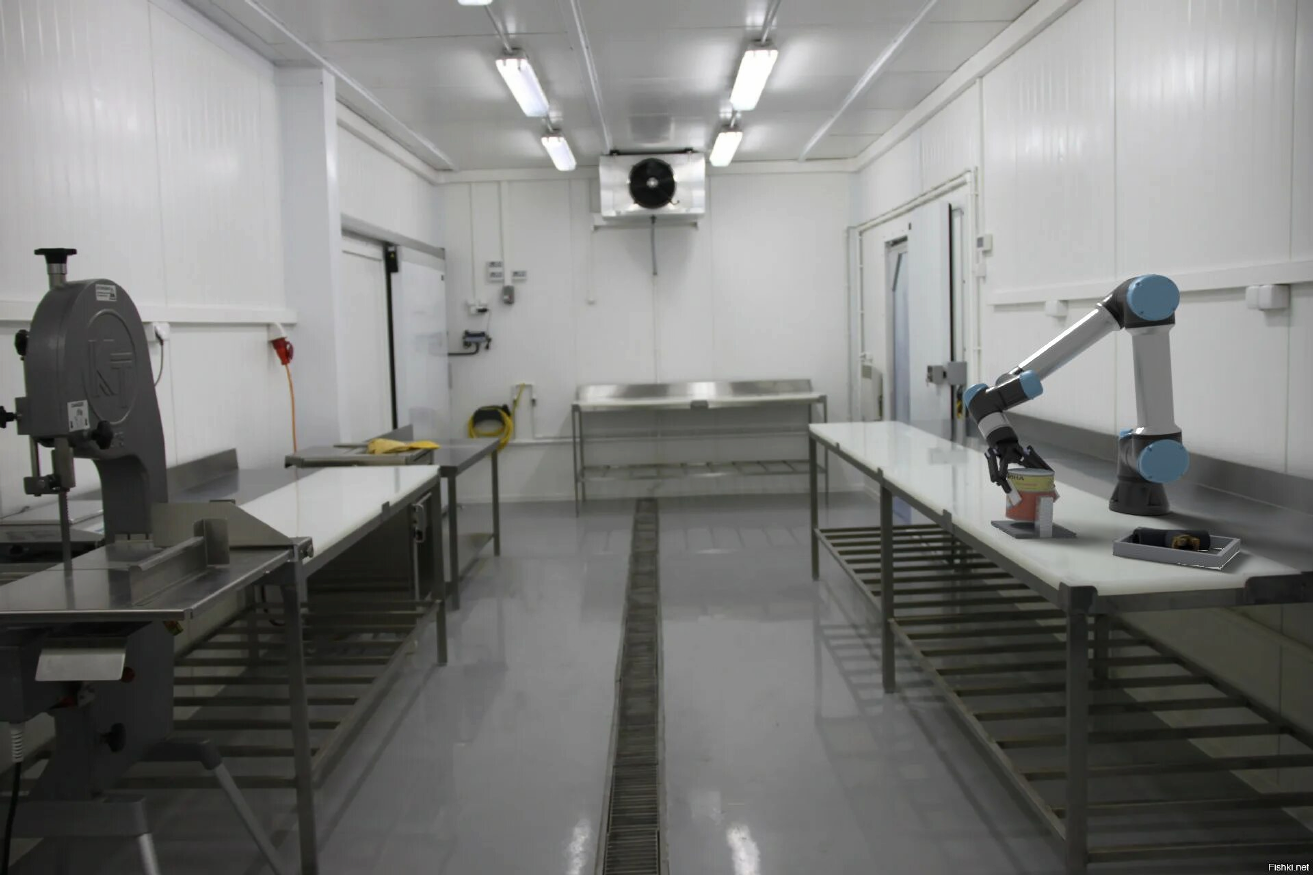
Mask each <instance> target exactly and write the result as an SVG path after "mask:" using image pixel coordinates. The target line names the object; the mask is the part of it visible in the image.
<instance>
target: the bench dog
mask: <svg viewBox="0 0 1313 875" xmlns="http://www.w3.org/2000/svg"><path fill="white" fill-rule="evenodd" d="M1053 515H1054V503H1053V497H1051V496H1048V495H1036V509H1035V532H1037V533H1039V534H1040V539H1044V538H1045V539H1048V538H1049V539H1050V538H1052V522H1054V520H1053Z"/></svg>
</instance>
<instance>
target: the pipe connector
mask: <svg viewBox="0 0 1313 875" xmlns="http://www.w3.org/2000/svg"><path fill="white" fill-rule="evenodd" d="M1134 529H1135V530H1134ZM1134 529H1133V530H1134V531H1133V534H1132V543H1133V544H1141V545H1148V546H1155V547H1163V548H1170V549H1177V550H1185V551H1192V552H1199V551H1198V550H1208V551H1209V550H1210V549H1209V548H1210V544H1211V540H1210V535H1211V534H1210V533H1209V531H1208V530H1206V529H1163V528H1156V529H1136V528H1134Z"/></svg>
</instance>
